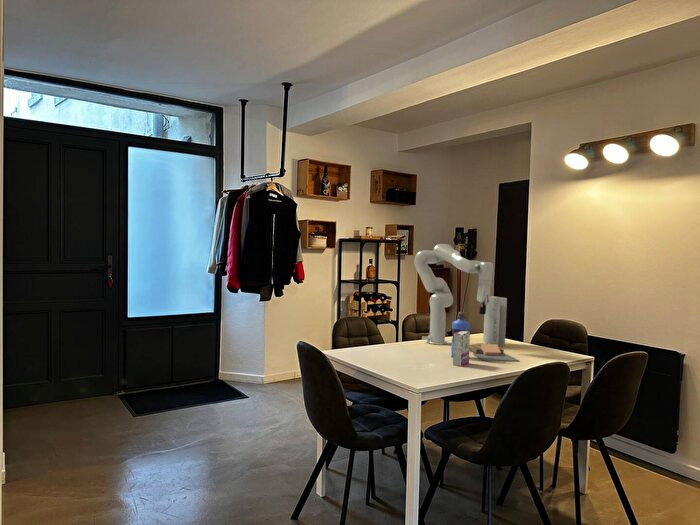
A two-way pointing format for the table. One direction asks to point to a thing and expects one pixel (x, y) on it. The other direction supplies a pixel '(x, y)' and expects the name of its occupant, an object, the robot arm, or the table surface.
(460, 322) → the water bottle
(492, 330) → the tall grey box
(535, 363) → the table surface
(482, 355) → the mat
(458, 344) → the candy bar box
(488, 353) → the tile
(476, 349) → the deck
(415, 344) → the table surface
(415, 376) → the table surface
